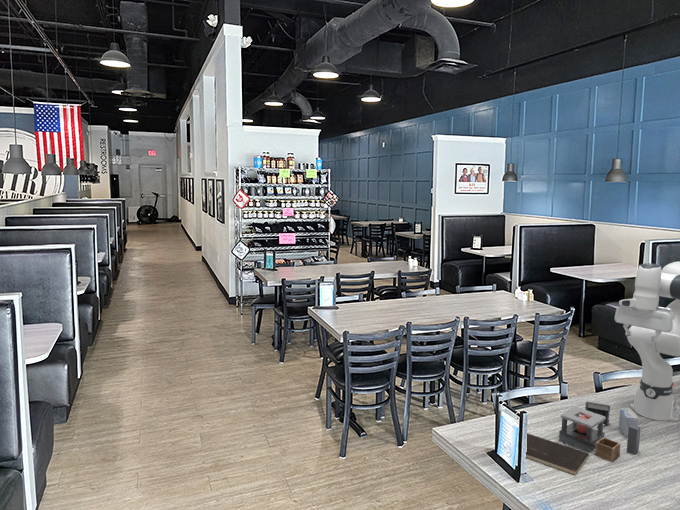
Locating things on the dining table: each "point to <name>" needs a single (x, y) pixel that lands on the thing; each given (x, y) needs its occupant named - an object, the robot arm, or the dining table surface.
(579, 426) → the button
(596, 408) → the electrical switch
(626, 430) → the medicine box
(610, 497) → the dining table surface
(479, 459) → the dining table surface
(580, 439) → the grey ball cage
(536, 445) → the hardcover book
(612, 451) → the brown wooden box
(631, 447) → the dark gray rectangular block
